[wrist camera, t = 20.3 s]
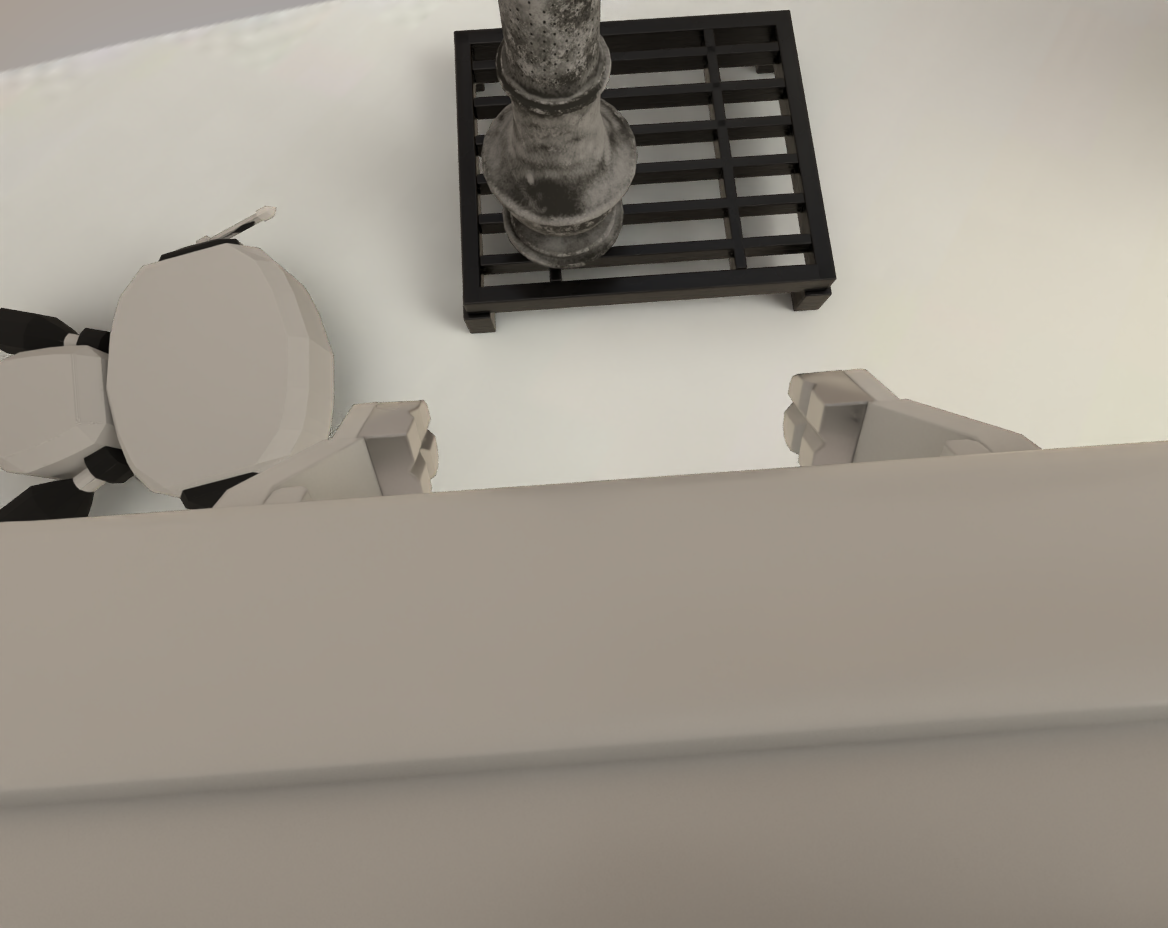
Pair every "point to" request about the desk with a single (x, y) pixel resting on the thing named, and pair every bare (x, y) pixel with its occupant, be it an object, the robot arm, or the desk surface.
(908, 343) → the desk surface
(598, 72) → the grey stone turned piece
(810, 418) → the robot arm
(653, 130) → the grate
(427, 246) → the desk surface
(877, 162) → the desk surface
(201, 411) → the robot toy
